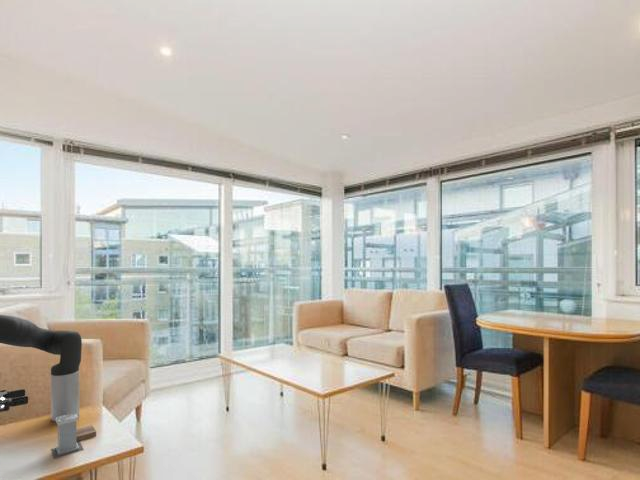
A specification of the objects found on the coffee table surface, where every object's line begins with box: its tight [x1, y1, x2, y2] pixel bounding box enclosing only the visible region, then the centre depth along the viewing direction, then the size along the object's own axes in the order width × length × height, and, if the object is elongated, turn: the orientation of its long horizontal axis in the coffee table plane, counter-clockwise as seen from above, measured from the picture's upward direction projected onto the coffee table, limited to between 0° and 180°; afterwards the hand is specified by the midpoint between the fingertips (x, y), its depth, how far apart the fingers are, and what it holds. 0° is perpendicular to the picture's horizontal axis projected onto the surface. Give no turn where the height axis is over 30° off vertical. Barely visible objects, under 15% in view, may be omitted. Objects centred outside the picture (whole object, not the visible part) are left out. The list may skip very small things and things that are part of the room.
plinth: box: [76, 424, 97, 442], centre depth 137 cm, size 7×7×2 cm
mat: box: [50, 440, 85, 460], centre depth 127 cm, size 8×8×1 cm
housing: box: [55, 413, 80, 456], centre depth 128 cm, size 6×6×10 cm
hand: (26, 395), depth 121 cm, fingers open, 8 cm apart
